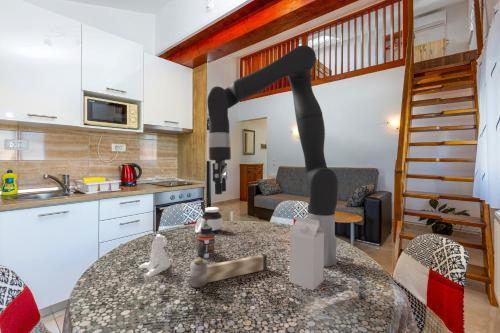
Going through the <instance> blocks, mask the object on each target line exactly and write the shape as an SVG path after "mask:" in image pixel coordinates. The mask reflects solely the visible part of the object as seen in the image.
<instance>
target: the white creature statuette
mask: <svg viewBox="0 0 500 333" xmlns="http://www.w3.org/2000/svg"><path fill="white" fill-rule="evenodd" d="M167 244H168V240H167V237H166V236H164V235H163V234H159V233H157V234H156V236H155V239H154V240H152V244H151V252H150V253H149V254H150V255H149V257H150V258H149V261H148V262H143V263H142V264H140V265H139V270H142V269H143V270H144V269H146V270H148V272H146V273H145V277H146V278H151V277H155V276H156V275H158V274H160V273H161V272H164V271H167V270H168V268H170V267H171V264H172V263H171V261H170V258H169V257H168V256H167V253H166V250H165V249H164V248H165V247H166V245H167Z"/></svg>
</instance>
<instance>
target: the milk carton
mask: <svg viewBox="0 0 500 333" xmlns="http://www.w3.org/2000/svg"><path fill="white" fill-rule="evenodd" d="M288 279H289V283H292V284H295V285H297V286H299V287H303V288H305V289H307V290H310V291H314V290H315V289H316V288H318V286H319V285H321V283H322V282H324V232H323V230H322V228H321V227H320V225H319V221H317V220H311V219H308V218H305V217H298V216H296V217H295V221H294V224H293V226H292V228H291V230H290V231H289V278H288Z"/></svg>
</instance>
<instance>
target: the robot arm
mask: <svg viewBox="0 0 500 333" xmlns="http://www.w3.org/2000/svg"><path fill="white" fill-rule="evenodd" d="M316 60H317V54H316V52H315V50H314V48H312V47H311V46H309V45H305V44H303V45H298V46H296V47H294V48H293V49H292V50H290V51H288V52H287V53H286V54H283V55H282V56H281V57H280V58H278V59H276V60H274V61H272V62H271V63H269V64H267V65H266V66H264V67H262V68H260V69H257V70H255V71H253V72H251V73H249V74H246V75H244V76H242V77H239V78H237V79H236V80H234V81H233V82H232V83H231V85H229V86H228V87H226V88H223V87H221V86H218V85H217V86H213V87H211V88H210V89H209V91H208V93H207V97H206V101H207V111H208V117H209V118H208V119H209V122H208V125H209V126H208V131H209V134H208V135H209V136H208V158H209V161H214V162H212V182H213V183H214V193H215V195H222V194H223V192H226V191H227V180H228V163H227V162H226V161H230V160H231V159H232V156H231V155H232V153H231V150H232V149H231V148H232V147H231V136H230V120H229V116H228V115H229V109H230V108H232V107H234V106H235V105H237V104H238V103H240V102H241V101H243V100H246V99H249V98H250V97H252V96H255V95H257V94H259V93H261V92H263V91H264V90H266V89H268V88H269V87H270V86H272V85H273V84H275V83H276V82H278V81H280V80H282V79H284V78H288V81H289V86H290V89H291V92H292V97H293V106H294V116H295V120H296V126H297V131H298V136H299V140H300V145H301V148H302V153H303V157H304V158H303V159H304V167H305V180H306V184H307V186H308V188H309V201H308V202H309V203H308V205H307V219H311V220H317V221H319V225H320V227H321V228H322V230H323V232H324V267H325V268H326V267H331V266H337V240H338V239H337V236H336V234H335V233H336V230H335V229H336V228H335V227H336V224H335V222H336V207H337V206H338V195H339V194H338V192H339V191H338V190H339V188H338V187H339V186H338V185H339V182H338V181H339V180H338V176H337V174H336V173H335V171H333V170H332V169H330V168H328V166H327V162H326V158H325V147H324V146H325V140H326V139H325V137H326V136H325V135H326V128H325V122H324V121H325V120H324V117H323V116H324V115H323V112H322V108H321V106H320V104H319V102H318V99H317V98H316V96H315V93H314V91H313V87H312V80H311V78H312V77H311V71H312V70H313V68H314V66H315V65H316Z"/></svg>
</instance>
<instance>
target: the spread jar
mask: <svg viewBox="0 0 500 333" xmlns="http://www.w3.org/2000/svg"><path fill="white" fill-rule="evenodd" d="M204 210H205V211H204V213H203V214H202V216H201V218H198V219H197V220H196V222H195V226H194V228H195V229H194V231H195V233H197V234H199V233H201V227H203V226H211V227H212V232H213V233H214V234H217V233H218V232H220V231H221V230H222V228H223V216H222V214H221V213H220V209H219V207H216V206H212V207H211V206H210V207H209V206H208V207H205V208H204Z"/></svg>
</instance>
